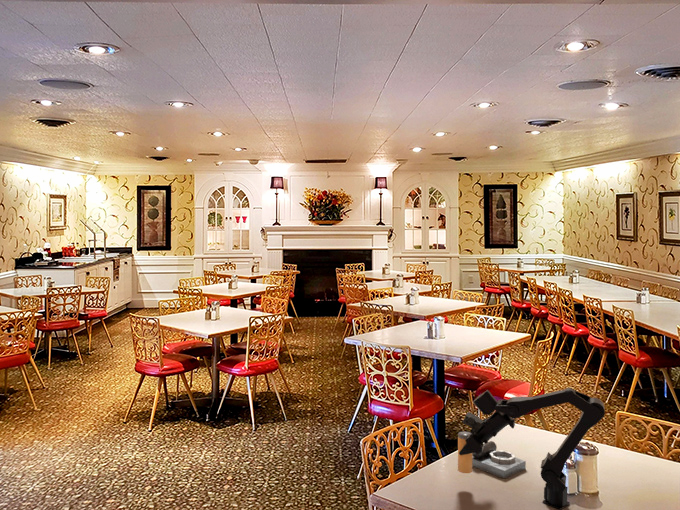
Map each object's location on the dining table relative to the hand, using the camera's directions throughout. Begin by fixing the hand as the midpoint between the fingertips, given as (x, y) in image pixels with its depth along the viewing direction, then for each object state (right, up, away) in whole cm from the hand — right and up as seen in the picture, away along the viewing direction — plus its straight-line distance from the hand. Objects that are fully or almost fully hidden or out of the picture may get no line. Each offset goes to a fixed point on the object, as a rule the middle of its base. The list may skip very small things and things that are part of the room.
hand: (461, 451), depth 203 cm
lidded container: (+1, -7, 0) cm, 7 cm away
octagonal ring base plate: (+17, -12, +17) cm, 27 cm away
